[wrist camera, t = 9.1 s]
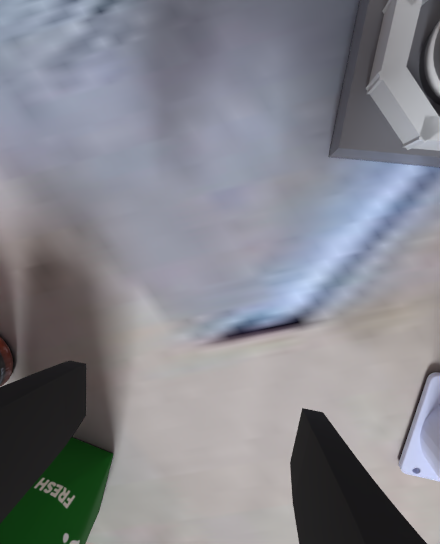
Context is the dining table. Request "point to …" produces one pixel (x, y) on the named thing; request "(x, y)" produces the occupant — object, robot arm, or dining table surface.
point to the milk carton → (61, 499)
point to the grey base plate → (388, 87)
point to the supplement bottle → (5, 362)
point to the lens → (431, 65)
